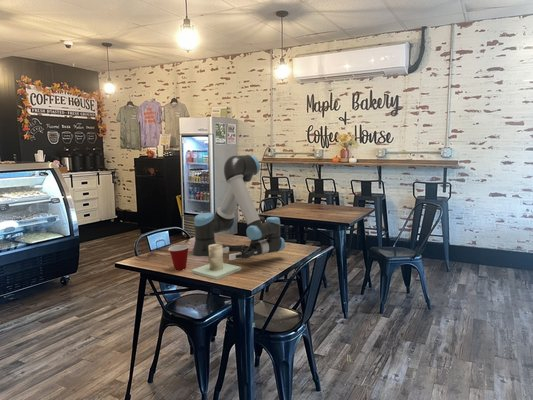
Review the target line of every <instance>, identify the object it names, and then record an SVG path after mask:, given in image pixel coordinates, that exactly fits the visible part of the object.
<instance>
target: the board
mask: <svg viewBox="0 0 533 400" xmlns="http://www.w3.org/2000/svg"><path fill="white" fill-rule="evenodd" d="M240 271H242V267H241V266H237V265H234V264H231V263H230V264H229V263H224V262H223V269H222V270H218V271H213V270H210V269H209V263H208V264H204V265H202V266H198V267H195V268H193V269H191V270H190V273H191V272H192V273H191V274H194V273H195V275H197V274H198V275H197V276H202V277H204V278H209V279H213V280H219V279H222V278H224V277H227V276H229V275H232V274H234V273H237V272H240Z"/></svg>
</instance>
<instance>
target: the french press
mask: <svg viewBox="0 0 533 400" xmlns="http://www.w3.org/2000/svg"><path fill="white" fill-rule="evenodd" d="M255 209H256V211H257V212H259V211H258V210H260V209H261V208H259V207H255ZM259 218H260V220H261V222H264V219H265V217H264V216H259ZM265 238H266V237H263V238H260V239H256V240H251V239H250V243H251V242H256V241H261V240H266V239H265Z"/></svg>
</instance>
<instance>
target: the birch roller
mask: <svg viewBox="0 0 533 400" xmlns="http://www.w3.org/2000/svg"><path fill="white" fill-rule="evenodd" d="M223 248H224V246H223V244H221V243H216V244H211V245H209V255H208V264H209V269H210V270H213V271H218V270H222V269H223V263H224V253H223Z"/></svg>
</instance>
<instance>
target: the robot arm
mask: <svg viewBox="0 0 533 400" xmlns="http://www.w3.org/2000/svg"><path fill="white" fill-rule="evenodd" d="M260 169H261V164H260V161H259V159H258V157H256V156H255V155H253V154H246V155H233V156H229V158H227V160H225V163H224V165H223V175H224V179H225V181H226V183H227V184H228V185H229V186H228V189H227V191H226V193H225V195H224V198H223V200H222V202H221V205H220V206H219V207H217V208H216V210H215V212H214V213H213V212H202V213H199V214H197V215H195V217H194V218H193V219H194V222H193V225H194V244H193V248H192V254H193V255H194V256H198V257H199V256H200V257H201V256H204V257H206V256H208V257H209V245H211V244H217V242H216V238H215V234H218V233H222V232H227V231H229V230H231V229H233V228H234V227H235V225H236V220H235V219H236V217H235V210H236V208H237V206H238V207H239V209H240V211H241V213H242V216H243V219H244V221H245V222H246V225H247V227H246V229H245V231H246V237H247V238H248V239H249V240H250V244H249V245H246V244H239V245H237V244H236V245H235V244H234V245H227V246H226V247H223V254H228V260H229V261H232V260H233V261H234V260H238V259H244V260H247V259H248V258H251V257H256V256H261V255H262V256H265V255H267V254H272V253H278V252H281V251H284V249H285V248H286V242H285V239H284V238H283V237H281V220H280V219H281V218H280V217H279V216H270V217H269V216H268V217H267V218H266V219H265V220H266V221H265V222H263V221H262V222H263V223H262V222H261V220H260V218H259V217H260V215H259V214H258V211H256V209H255V208H256V207H255V204H254V202H253V199H252V197H251V195H250V192H249V190H248V188H247V183H249V182H251V181H252V179H253V177H254V176H256V175H258V174H259V173H260ZM263 237H264V238H266V239H265V240H261V241H256V242H251V240H256V239H260V238H263ZM230 252H234V253H230Z"/></svg>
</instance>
